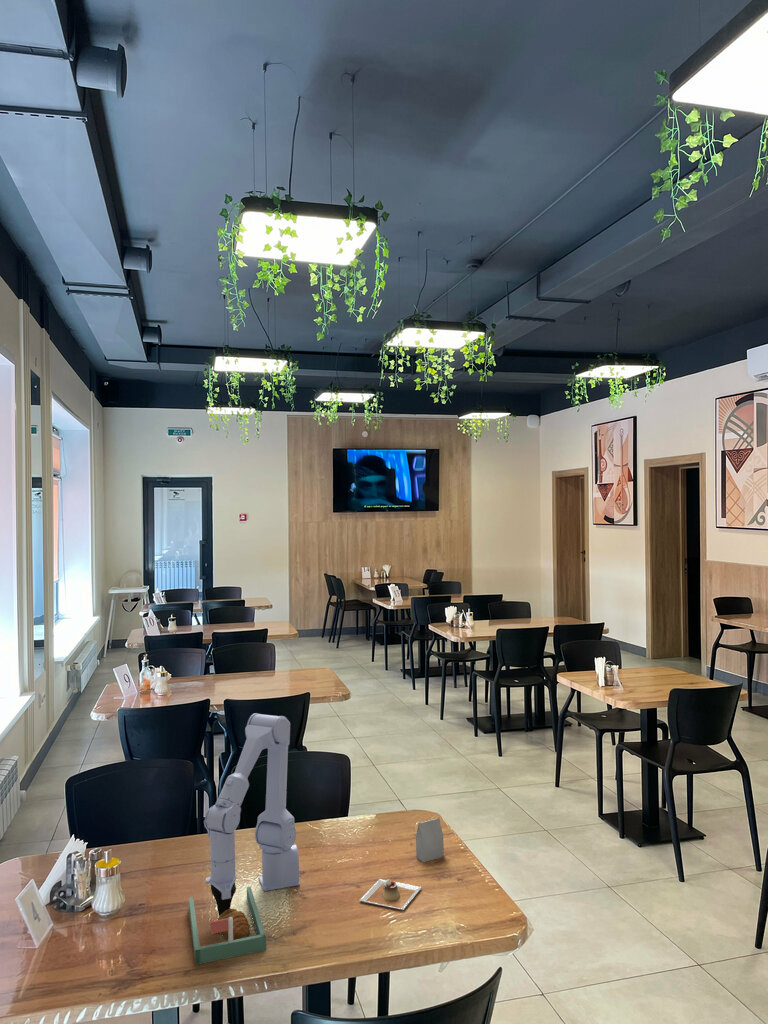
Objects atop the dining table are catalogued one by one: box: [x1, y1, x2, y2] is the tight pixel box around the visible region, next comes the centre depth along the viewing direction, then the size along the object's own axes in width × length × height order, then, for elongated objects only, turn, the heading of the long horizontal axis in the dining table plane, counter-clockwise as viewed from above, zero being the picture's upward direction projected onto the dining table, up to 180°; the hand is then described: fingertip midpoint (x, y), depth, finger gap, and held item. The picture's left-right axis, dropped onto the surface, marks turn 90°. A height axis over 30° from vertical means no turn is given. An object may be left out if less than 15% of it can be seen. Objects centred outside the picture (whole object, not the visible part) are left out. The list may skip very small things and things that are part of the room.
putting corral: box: [188, 886, 267, 965], centre depth 166 cm, size 15×24×8 cm, turn 18°
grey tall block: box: [415, 817, 445, 863], centre depth 200 cm, size 4×7×10 cm, turn 119°
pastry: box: [217, 908, 251, 940], centre depth 164 cm, size 9×7×4 cm
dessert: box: [358, 877, 422, 911], centre depth 179 cm, size 12×12×5 cm
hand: (223, 916), depth 169 cm, fingers closed
